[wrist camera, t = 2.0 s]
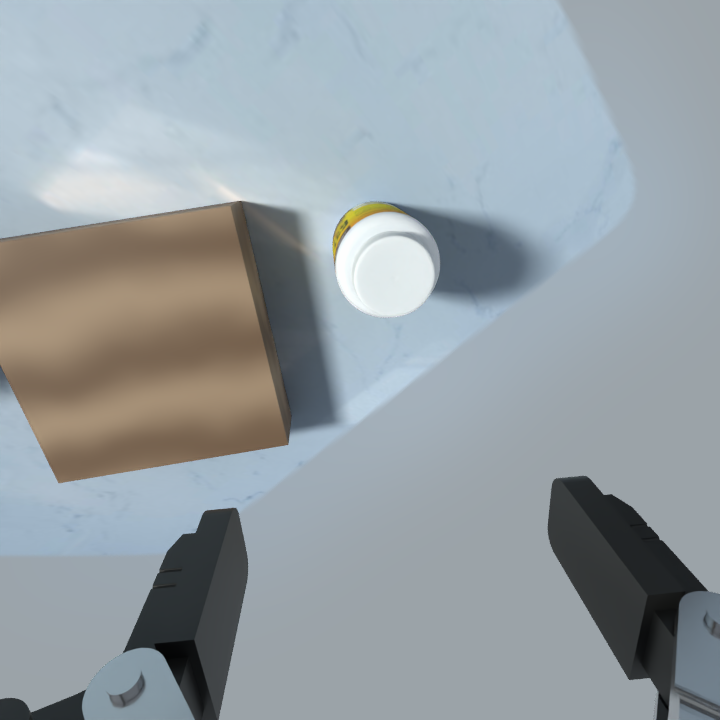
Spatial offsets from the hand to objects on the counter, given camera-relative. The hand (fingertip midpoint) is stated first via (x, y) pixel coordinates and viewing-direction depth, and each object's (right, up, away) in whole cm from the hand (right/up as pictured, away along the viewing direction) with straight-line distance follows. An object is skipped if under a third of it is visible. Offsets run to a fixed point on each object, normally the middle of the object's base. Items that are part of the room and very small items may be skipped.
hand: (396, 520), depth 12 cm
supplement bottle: (0, +12, +20) cm, 23 cm away
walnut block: (-15, +6, +21) cm, 27 cm away
